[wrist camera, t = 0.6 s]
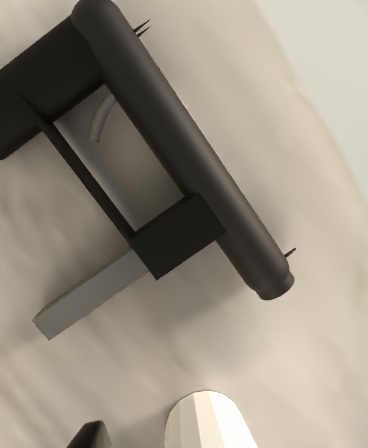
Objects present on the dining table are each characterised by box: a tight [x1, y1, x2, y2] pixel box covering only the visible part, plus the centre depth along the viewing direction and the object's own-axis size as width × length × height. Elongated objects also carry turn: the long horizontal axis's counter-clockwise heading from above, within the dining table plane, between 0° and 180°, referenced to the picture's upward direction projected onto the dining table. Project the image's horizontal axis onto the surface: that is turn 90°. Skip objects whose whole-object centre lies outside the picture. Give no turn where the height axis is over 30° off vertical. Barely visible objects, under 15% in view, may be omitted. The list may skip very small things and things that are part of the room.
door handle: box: [0, 0, 296, 340], centre depth 20 cm, size 3×20×16 cm
